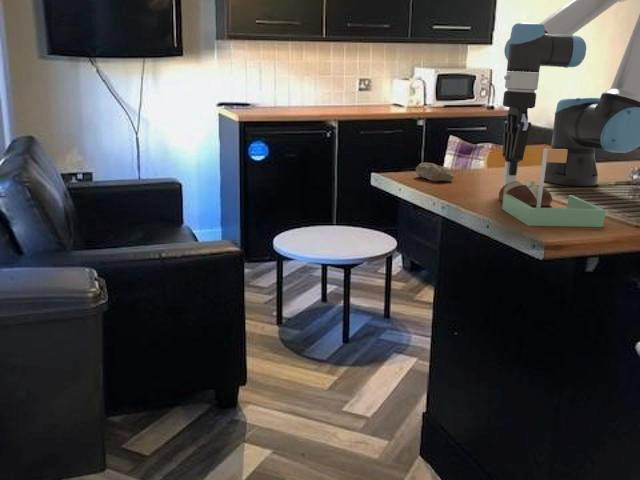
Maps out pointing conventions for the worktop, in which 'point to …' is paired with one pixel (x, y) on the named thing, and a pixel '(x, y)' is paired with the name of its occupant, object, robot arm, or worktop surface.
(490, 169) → the worktop surface
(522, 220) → the mint green tray
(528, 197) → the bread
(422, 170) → the rock
